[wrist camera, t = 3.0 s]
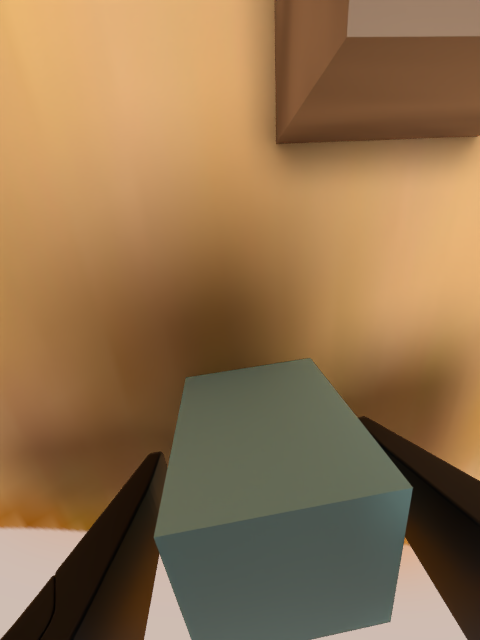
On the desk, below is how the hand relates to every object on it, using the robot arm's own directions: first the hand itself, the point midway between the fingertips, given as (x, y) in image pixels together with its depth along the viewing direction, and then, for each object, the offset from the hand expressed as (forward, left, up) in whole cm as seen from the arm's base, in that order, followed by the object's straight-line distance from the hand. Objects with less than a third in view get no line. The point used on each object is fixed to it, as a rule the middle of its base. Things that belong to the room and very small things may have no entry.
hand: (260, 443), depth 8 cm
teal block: (0, 0, -1) cm, 1 cm away
